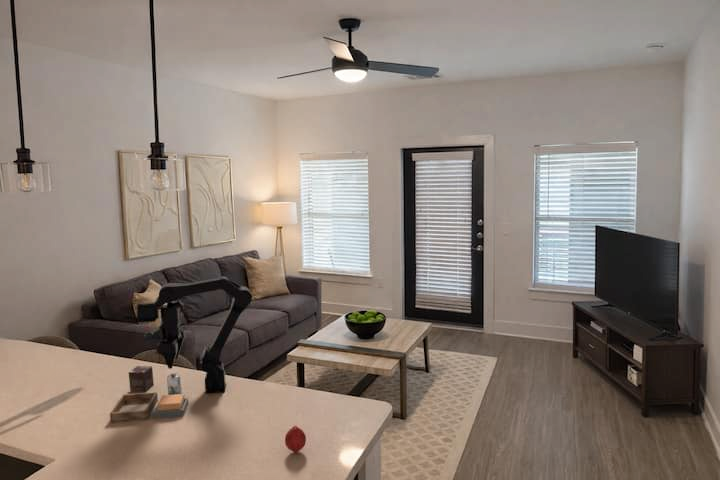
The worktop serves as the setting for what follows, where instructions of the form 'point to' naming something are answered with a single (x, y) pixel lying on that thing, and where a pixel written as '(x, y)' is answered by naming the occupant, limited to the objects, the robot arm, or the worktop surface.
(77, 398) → the worktop surface
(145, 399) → the tray
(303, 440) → the onion
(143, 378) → the box
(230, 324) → the robot arm
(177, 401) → the pad
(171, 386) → the cylinder
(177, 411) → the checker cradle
